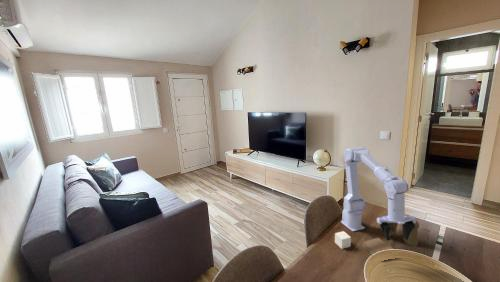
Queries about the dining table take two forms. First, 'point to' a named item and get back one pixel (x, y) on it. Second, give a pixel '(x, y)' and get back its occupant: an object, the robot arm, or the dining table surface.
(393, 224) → the cup
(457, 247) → the dining table surface
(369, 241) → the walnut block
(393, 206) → the robot arm
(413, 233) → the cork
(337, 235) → the offwhite cube
